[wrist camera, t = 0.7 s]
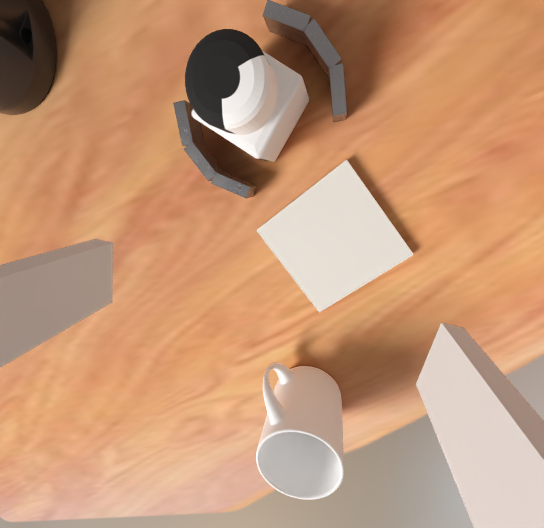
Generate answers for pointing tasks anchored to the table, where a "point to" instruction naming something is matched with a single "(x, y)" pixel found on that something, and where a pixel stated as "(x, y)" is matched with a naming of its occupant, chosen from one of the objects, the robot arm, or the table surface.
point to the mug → (302, 433)
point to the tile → (334, 238)
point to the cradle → (294, 29)
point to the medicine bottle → (244, 93)
